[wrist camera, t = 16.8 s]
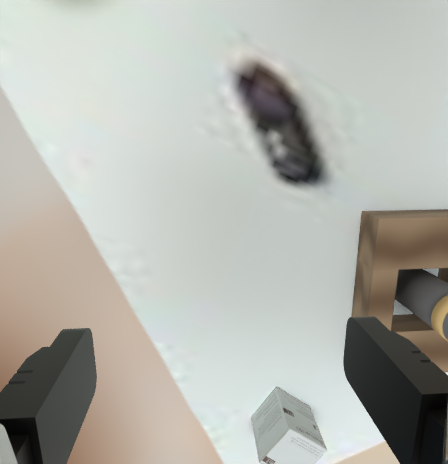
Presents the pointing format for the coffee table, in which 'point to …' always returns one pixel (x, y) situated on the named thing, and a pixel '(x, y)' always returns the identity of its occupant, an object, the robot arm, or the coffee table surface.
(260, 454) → the skincare box
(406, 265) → the wooden gallows stand
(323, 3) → the coffee table surface
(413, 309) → the banded grey cylinder
